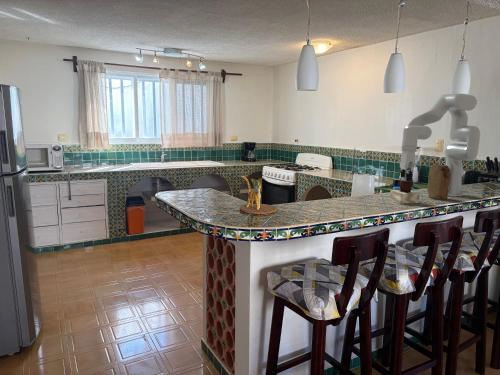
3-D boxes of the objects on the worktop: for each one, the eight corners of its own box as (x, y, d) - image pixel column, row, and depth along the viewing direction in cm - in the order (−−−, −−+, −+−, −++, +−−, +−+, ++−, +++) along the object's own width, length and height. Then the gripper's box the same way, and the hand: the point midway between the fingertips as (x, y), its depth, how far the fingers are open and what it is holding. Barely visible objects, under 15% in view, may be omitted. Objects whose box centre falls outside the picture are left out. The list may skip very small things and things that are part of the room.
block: (425, 196, 220) (428, 163, 216) (434, 196, 222) (438, 163, 219) (440, 200, 210) (444, 166, 206) (449, 200, 212) (454, 165, 209)
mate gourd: (408, 190, 209) (412, 164, 205) (415, 193, 201) (418, 166, 198) (395, 190, 208) (398, 164, 205) (401, 193, 201) (405, 166, 198)
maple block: (407, 199, 212) (408, 189, 211) (418, 204, 202) (419, 193, 201) (389, 200, 211) (390, 189, 210) (399, 204, 200) (401, 193, 199)
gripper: (397, 147, 210) (394, 176, 213) (407, 149, 193) (404, 181, 196) (410, 147, 209) (407, 177, 212) (422, 150, 192) (418, 182, 195)
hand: (406, 179), depth 204 cm, fingers open, 9 cm apart
